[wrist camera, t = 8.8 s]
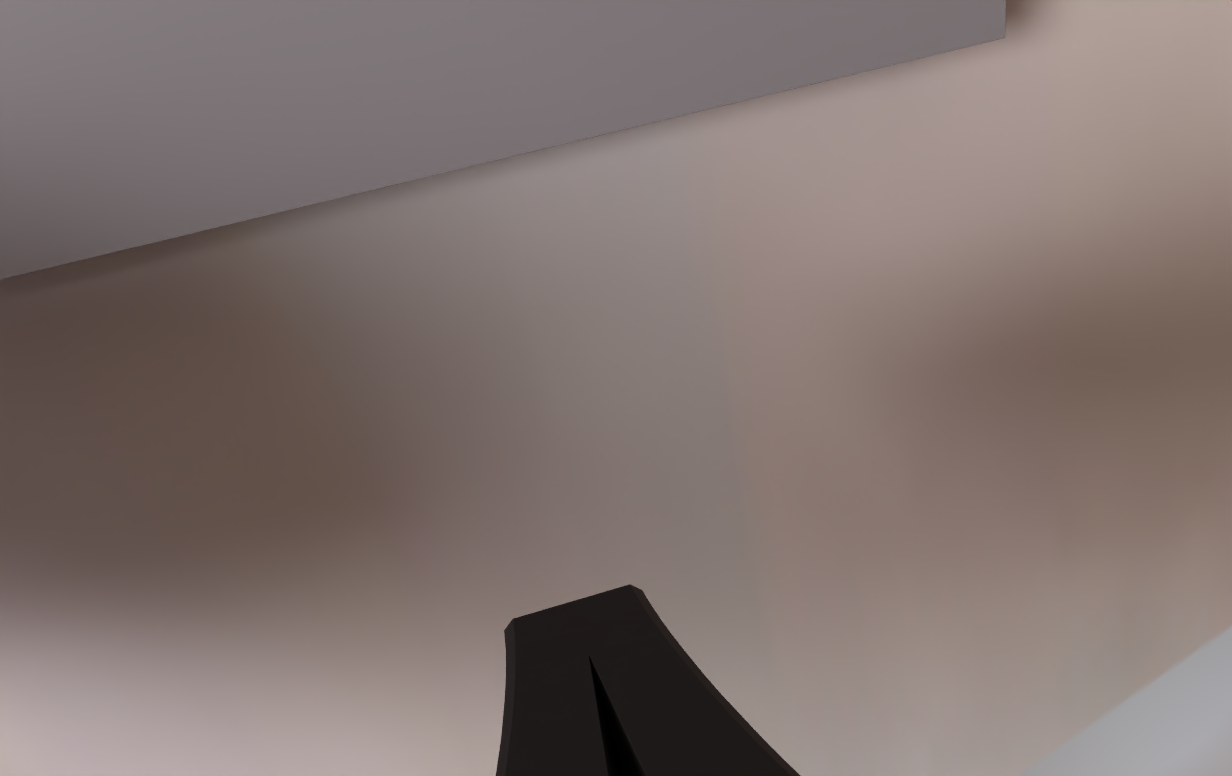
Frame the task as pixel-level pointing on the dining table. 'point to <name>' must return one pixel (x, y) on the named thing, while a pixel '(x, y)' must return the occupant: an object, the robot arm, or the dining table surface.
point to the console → (375, 94)
